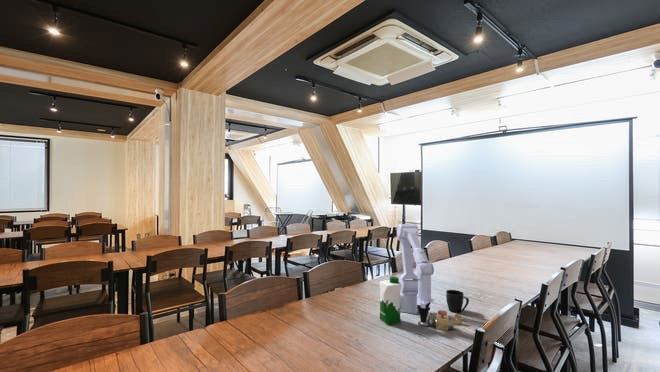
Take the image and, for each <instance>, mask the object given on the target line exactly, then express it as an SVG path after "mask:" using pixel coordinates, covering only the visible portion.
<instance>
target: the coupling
mask: <svg viewBox="0 0 660 372" xmlns="http://www.w3.org/2000/svg"><path fill="white" fill-rule="evenodd" d="M419 322H420V324H421V325H424V326H430V324H431V312H430V311H429V312H428V315H427V320H426V322H421V320H420V321H419ZM430 327H431V326H430Z"/></svg>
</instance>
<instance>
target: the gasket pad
mask: <svg viewBox="0 0 660 372" xmlns="http://www.w3.org/2000/svg"><path fill="white" fill-rule="evenodd" d="M417 324H418V326H420V327H424V328H429V327H432V326H431V323H430V326H424V325H421V324H420V321H418V322H417Z"/></svg>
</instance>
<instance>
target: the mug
mask: <svg viewBox="0 0 660 372" xmlns="http://www.w3.org/2000/svg"><path fill="white" fill-rule="evenodd" d="M445 292H446V293H445V295H446V296H445V298H446V303H447V307H448V310H449V312H451V313H454V314H460V313H463V312H464V311H465V309H467V307H468V305H469V303H470V298H469V297H466V296H464V292H463V291H460V290H457V289H448V290H446V291H445ZM464 299H465V304H464ZM463 305H464V306H463Z"/></svg>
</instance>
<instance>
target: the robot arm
mask: <svg viewBox="0 0 660 372" xmlns="http://www.w3.org/2000/svg"><path fill="white" fill-rule="evenodd" d="M396 235H397V236H396V237H397V240H398V241H399V243H400V247H401V257H402V268H403V273H402V274H401V275H400V277H398V278H399V281H398V282H399V283H401V284H402V287H401V292H400V313H401V312H402V313H406V314H407V313H408V314H413V315H417V314H419V318H420V321H421V322H426V320H427V315H428V312H430V309H431V307H430V305H431V303H433V302H434V299H433V298H432V275H434V272H435V271H434V270H435V268H434V264H433V262H432V261H430V260H429V259H428V256H427V255H426V254H427V253H426V252H425V250H424V248H421V243H420V241H419V237H418V236H419V227H418V225H417V224H416V223H413V224H411V223H410V224H409V223H408V224H407V223H406V224H405V223H402V224H401V223H399V224H398V225H397V227H396ZM412 250H413V251H412ZM413 259H414V262H415V264H416V266H415V271H416V274H415V273H414V265H413ZM418 302H419V304H418Z"/></svg>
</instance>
